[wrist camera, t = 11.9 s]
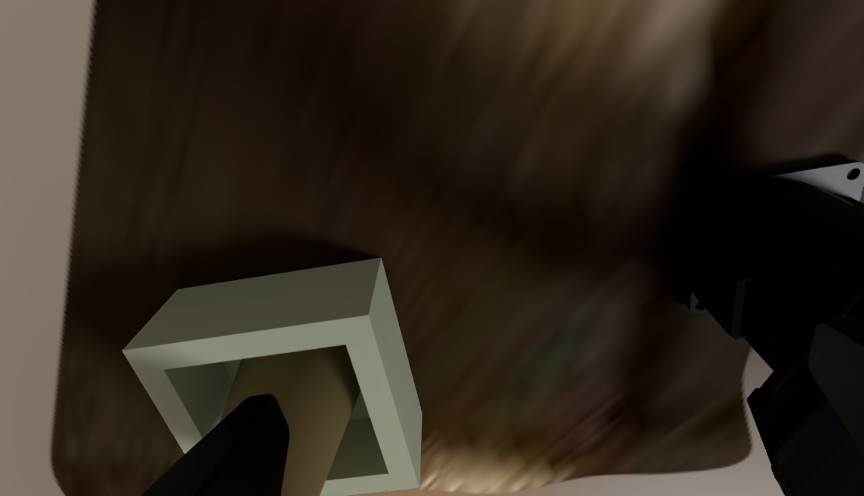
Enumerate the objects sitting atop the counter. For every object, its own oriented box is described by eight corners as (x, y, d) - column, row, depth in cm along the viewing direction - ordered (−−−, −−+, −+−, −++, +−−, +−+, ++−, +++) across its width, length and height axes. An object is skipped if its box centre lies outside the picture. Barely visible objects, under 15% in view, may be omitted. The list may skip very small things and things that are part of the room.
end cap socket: (381, 257, 22) (368, 314, 18) (422, 413, 26) (419, 487, 22) (177, 289, 23) (122, 350, 19) (250, 434, 27) (218, 509, 23)
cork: (230, 392, 24) (90, 653, 15) (260, 303, 22) (115, 546, 12) (341, 427, 25) (281, 692, 16) (382, 346, 23) (341, 602, 13)
